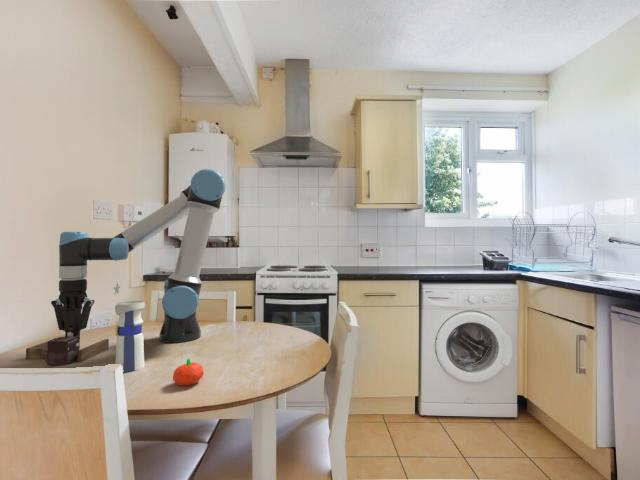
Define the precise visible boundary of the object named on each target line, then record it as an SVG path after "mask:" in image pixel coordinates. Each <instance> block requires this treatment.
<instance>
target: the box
mask: <svg viewBox="0 0 640 480" xmlns="http://www.w3.org/2000/svg"><path fill="white" fill-rule="evenodd" d="M46 342H47V362H46V365H48V366H53V365H54V366H55V365H59V366H60V365H61V366H62V365H63V366H64V365H69V364H71V363H73V362H76V360H77V361H78V350H80V349H79V336H65V335H63V336H59V337H55V338H52V339H49V340H47V341H46Z"/></svg>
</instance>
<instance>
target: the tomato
mask: <svg viewBox="0 0 640 480" xmlns="http://www.w3.org/2000/svg"><path fill="white" fill-rule="evenodd" d="M204 374H205V373H204V369H203V366H202V365H201V364H200V363H198V362H194V361H193V362H192V361H191V359H190V358H187V359H186V363H184V364H181V365H179V366H178V367H175V370H174V371H173V375H172V381H173V382H174V383H175V384H177V385H178V386H191V385H194V384H196V383H197V382H199V381H200V380H201V379H202V378H203V376H204Z"/></svg>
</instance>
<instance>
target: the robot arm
mask: <svg viewBox="0 0 640 480" xmlns="http://www.w3.org/2000/svg"><path fill="white" fill-rule="evenodd" d="M225 192H226V181H225V179H224V177H223V175H222V174H220V173H219V172H218V171H217V170H214V169H211V168H204V169H201V170H199V171H197V172H196V173H194V175H192V178H191V180H190V185H189V186H188V187H186V188H185V189H183V190H182V191H180V194H179V196H178V197H176V198H174V199H172V201H171V200H170V202H168V203H166V204H165V205H164V206H161V207H160V208H158V209H157V210H155V211H154V212H152V213H150V214H149V215H147V216H145V217H144V218H142V219H140V220H139V221H138V222H136V223H134V224H133V225H131V226H130V227H128V228H126V229H125V230H123V231H121V233H118V234H117V235H115V236H113V237H89V236H88V233H87V232H86V231H63V232H61V233H60V234H59V243H58V247H59V248H58V251H59V253H58V256H59V257H58V259H59V261H58V263H59V265H58V279H60V280H59V281H58V292H59V295H58V298H56V299H55V300H52V301H51V302H50V304H51V306H52V307H53V310H54V314H55V319H56V323H57V327H58V330H59V331H64V333H65V334H64V336H79V340H80V341H81V331H82V330H85V329H87V328H88V327H87V326H88V321H89V318H90V314H91V311H92V307H93V305H94V304H95V300H94V299H90V298H88V294H87V289H88V280H87V276H88V261H124V260H127V259H128V257H129V253H131V252H132V251H133V250H135V249H136V248H138V247H139V246H141V245H143V244H144V243H146V242H148V240H150V239H152V238H153V237H155V236H157V235H158V234H159V233H161V232H163V231H164V230H166V229H168V228H169V227H171V226H172V225H174V224H175V223H177V222H179V220H182V219H183V218H184V217H186V216H187V218H186V222H185V226H184V229H183V235H182V239H181V243H180V247H179V251H178V256H177V260H176V264H175V268H174V271H173V273H172V274H170V275H169V276H168V277H167V279H166V280H164V285H163V290H164V295H163V297H162V299H161V308H162V310H163V312H164V316H163V317H164V319H163V322H162V325H161V328H160V331H159V334H158V335H159V341H160V342H162V343H182V342H189V341H194V340H196V339H199V338H200V337H202V336H201V335H202V334H201V333H202V331H201V326H200V324H199V321H198V318H197V310H198V307H199V304H200V299H199V297H200V293H201V289H202V286H203V282H202V280H201V279H200V274H201V272H202V271H201V270H202V265H203V262H204V256H205V253H206V249H207V245H208V239H209V236H210V231H211V228H212V224H213V217H214V215H215V214H216V213H217V212H219V210H220V209H221V208H220V207H221V203H222V200H223V195H224V194H225Z"/></svg>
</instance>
